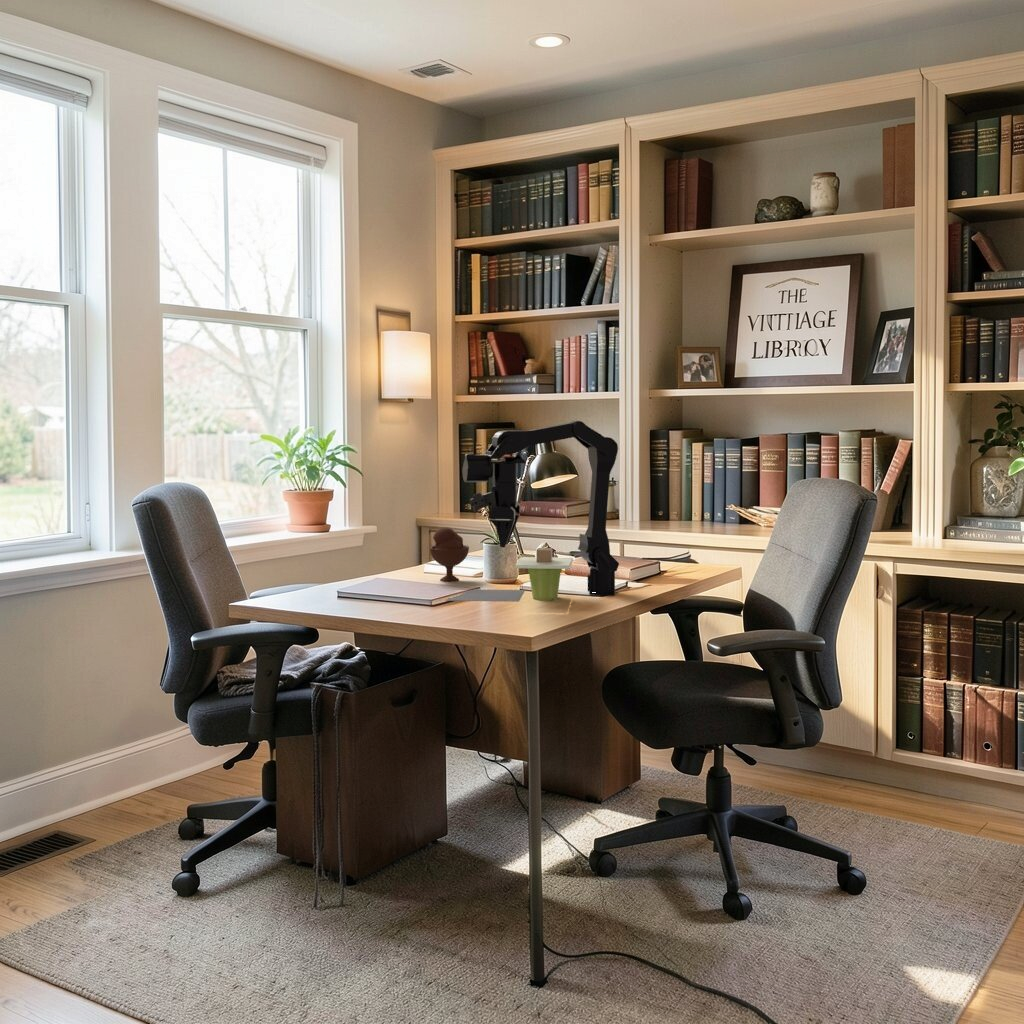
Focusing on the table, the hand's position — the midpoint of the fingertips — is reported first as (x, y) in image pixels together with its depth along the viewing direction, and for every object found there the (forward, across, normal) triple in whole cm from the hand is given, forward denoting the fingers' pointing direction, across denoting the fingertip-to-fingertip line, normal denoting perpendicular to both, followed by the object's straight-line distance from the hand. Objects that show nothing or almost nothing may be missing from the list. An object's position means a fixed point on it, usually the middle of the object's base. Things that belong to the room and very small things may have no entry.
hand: (504, 544), depth 266 cm
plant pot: (+14, 0, +10) cm, 17 cm away
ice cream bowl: (+14, -25, -18) cm, 34 cm away
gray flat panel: (+14, -3, -5) cm, 15 cm away
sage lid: (+5, 0, +10) cm, 11 cm away
